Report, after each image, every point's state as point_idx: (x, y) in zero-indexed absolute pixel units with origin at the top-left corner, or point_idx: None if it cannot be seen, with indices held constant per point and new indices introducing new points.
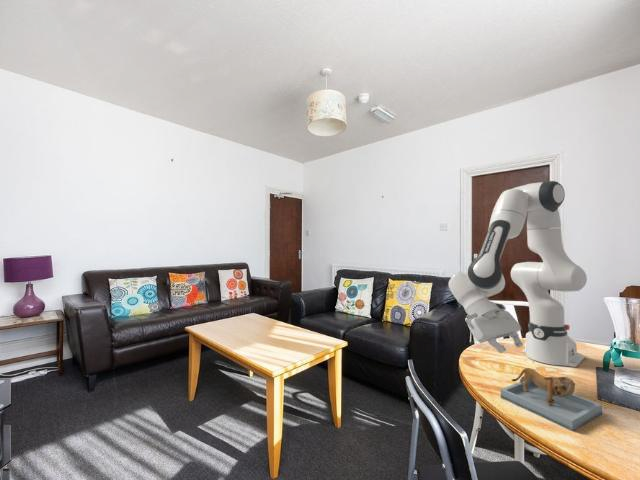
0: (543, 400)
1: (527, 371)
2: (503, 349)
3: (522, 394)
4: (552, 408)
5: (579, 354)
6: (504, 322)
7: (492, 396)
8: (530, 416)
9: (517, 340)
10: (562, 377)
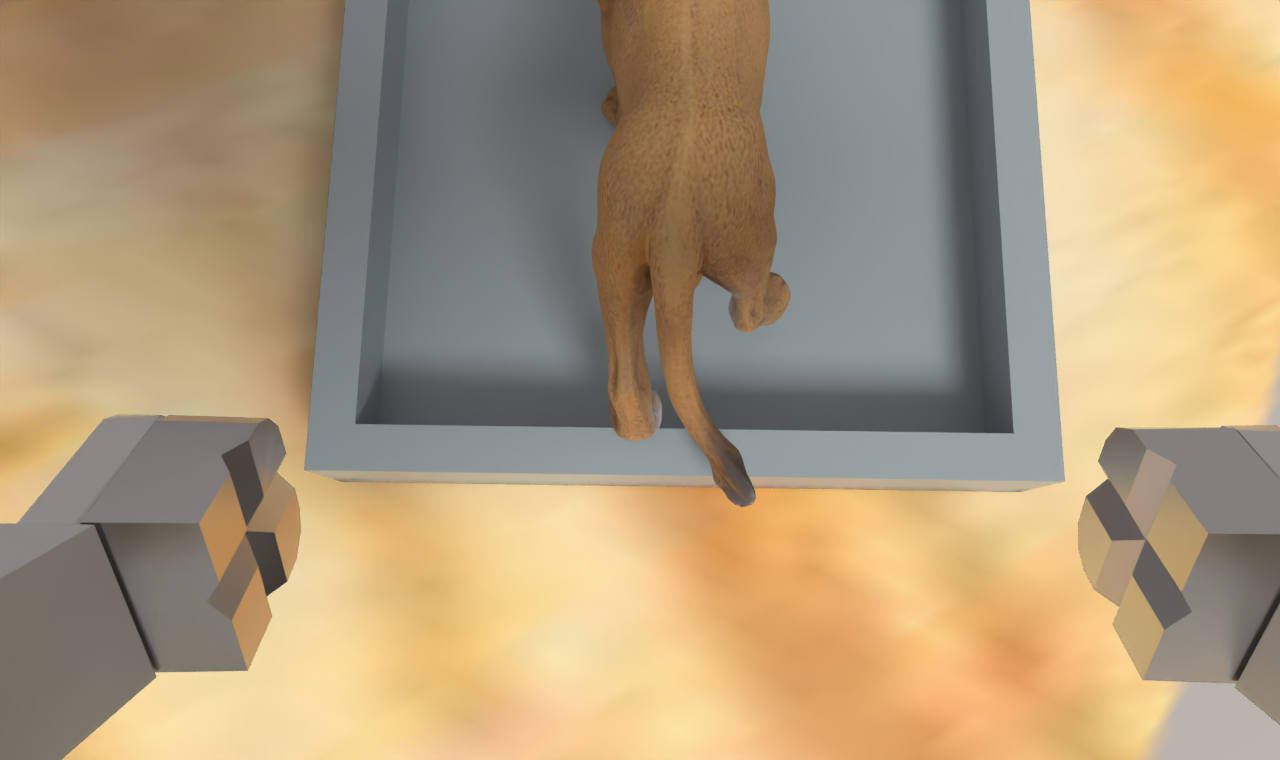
0: None
1: (758, 192)
2: (1264, 433)
3: (761, 359)
4: (786, 39)
5: None
6: None
7: None
8: (1091, 114)
9: (107, 575)
10: None
